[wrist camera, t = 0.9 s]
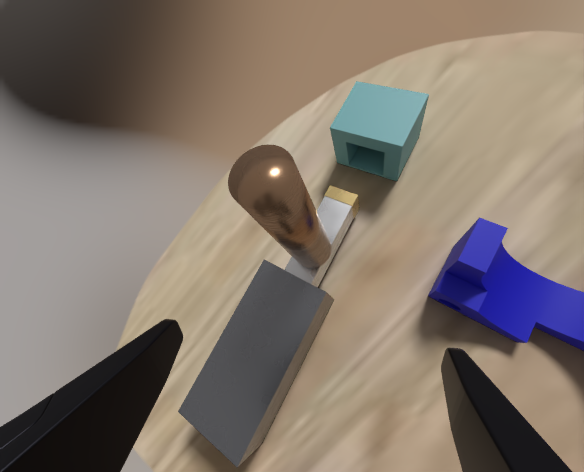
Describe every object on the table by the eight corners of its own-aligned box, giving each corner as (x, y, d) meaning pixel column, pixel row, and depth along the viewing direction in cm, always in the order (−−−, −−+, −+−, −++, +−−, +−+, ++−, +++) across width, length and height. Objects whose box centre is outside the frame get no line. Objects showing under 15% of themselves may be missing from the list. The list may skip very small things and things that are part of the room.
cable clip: (427, 296, 21) (446, 282, 16) (452, 247, 22) (479, 217, 16) (629, 401, 16) (760, 434, 11) (654, 334, 17) (787, 333, 11)
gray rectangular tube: (262, 443, 20) (237, 467, 17) (210, 398, 23) (178, 411, 19) (334, 299, 23) (326, 292, 19) (280, 271, 25) (264, 259, 21)
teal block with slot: (396, 181, 25) (402, 146, 20) (337, 162, 27) (330, 127, 22) (418, 137, 25) (429, 94, 21) (359, 122, 28) (356, 81, 23)
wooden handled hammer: (259, 409, 21) (102, 512, 9) (229, 385, 22) (54, 447, 10) (361, 209, 24) (351, 80, 12) (331, 198, 25) (293, 70, 13)
